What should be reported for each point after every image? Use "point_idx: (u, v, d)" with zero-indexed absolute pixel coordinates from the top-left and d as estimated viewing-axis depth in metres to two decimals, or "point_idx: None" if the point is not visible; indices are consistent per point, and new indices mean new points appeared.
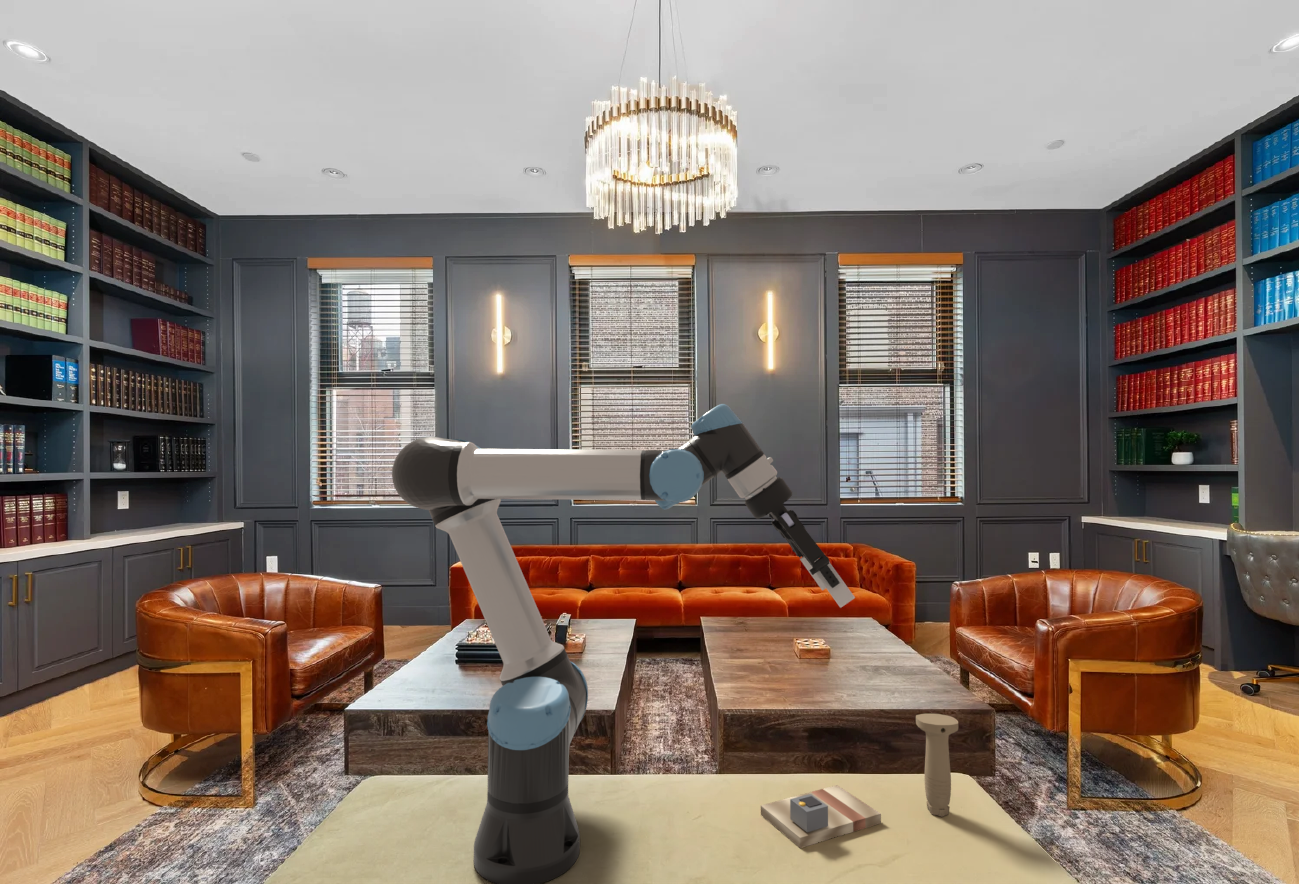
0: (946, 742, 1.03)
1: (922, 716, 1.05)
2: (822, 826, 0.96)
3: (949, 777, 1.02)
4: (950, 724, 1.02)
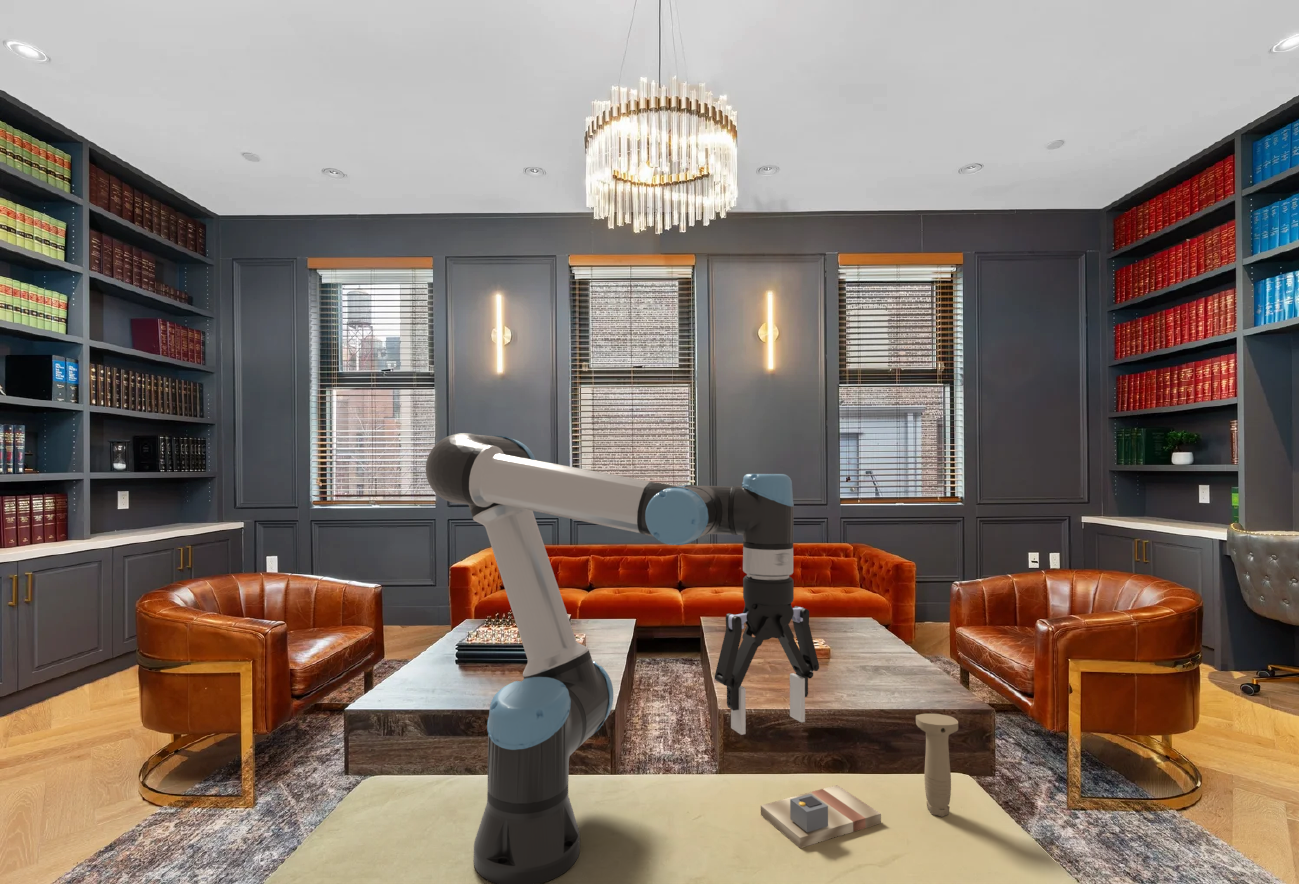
0: (946, 742, 1.03)
1: (922, 716, 1.05)
2: (822, 826, 0.96)
3: (949, 777, 1.02)
4: (950, 724, 1.02)
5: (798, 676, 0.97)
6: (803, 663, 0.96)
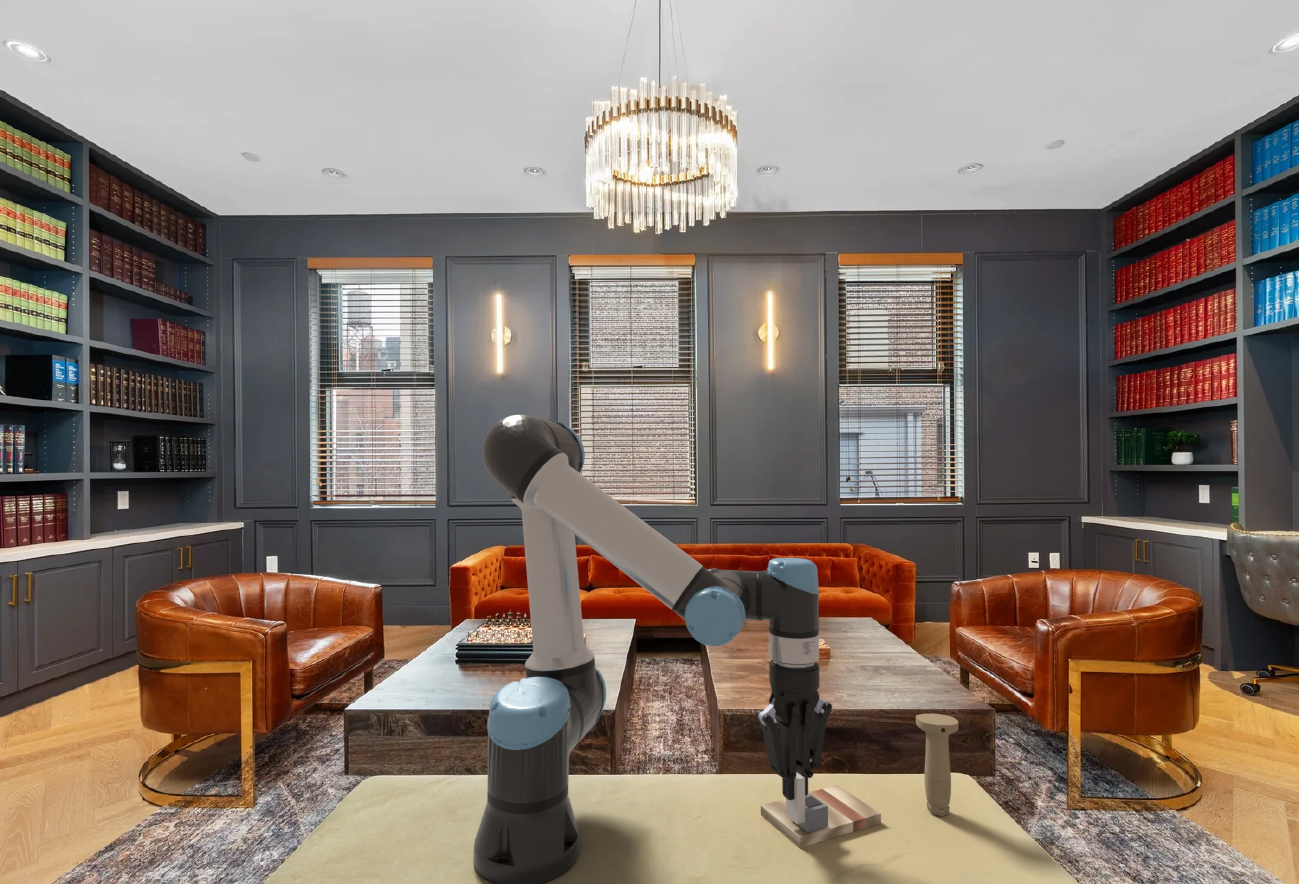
0: (946, 742, 1.03)
1: (922, 716, 1.05)
2: (822, 826, 0.96)
3: (949, 777, 1.02)
4: (950, 724, 1.02)
5: (798, 774, 0.96)
6: (807, 760, 0.96)
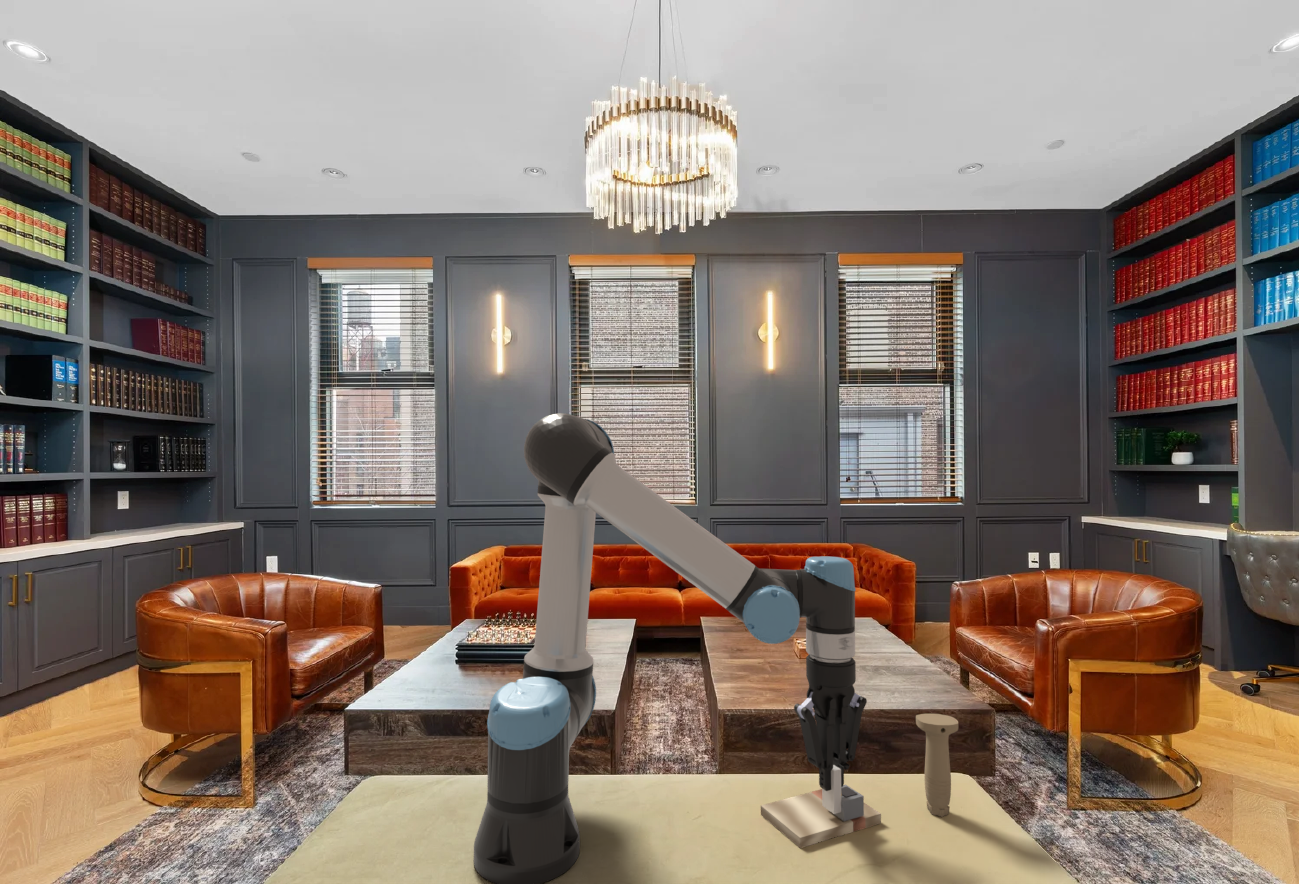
0: (946, 742, 1.03)
1: (922, 716, 1.05)
2: (858, 815, 0.99)
3: (949, 777, 1.02)
4: (950, 724, 1.02)
5: (834, 766, 0.99)
6: (843, 752, 0.99)
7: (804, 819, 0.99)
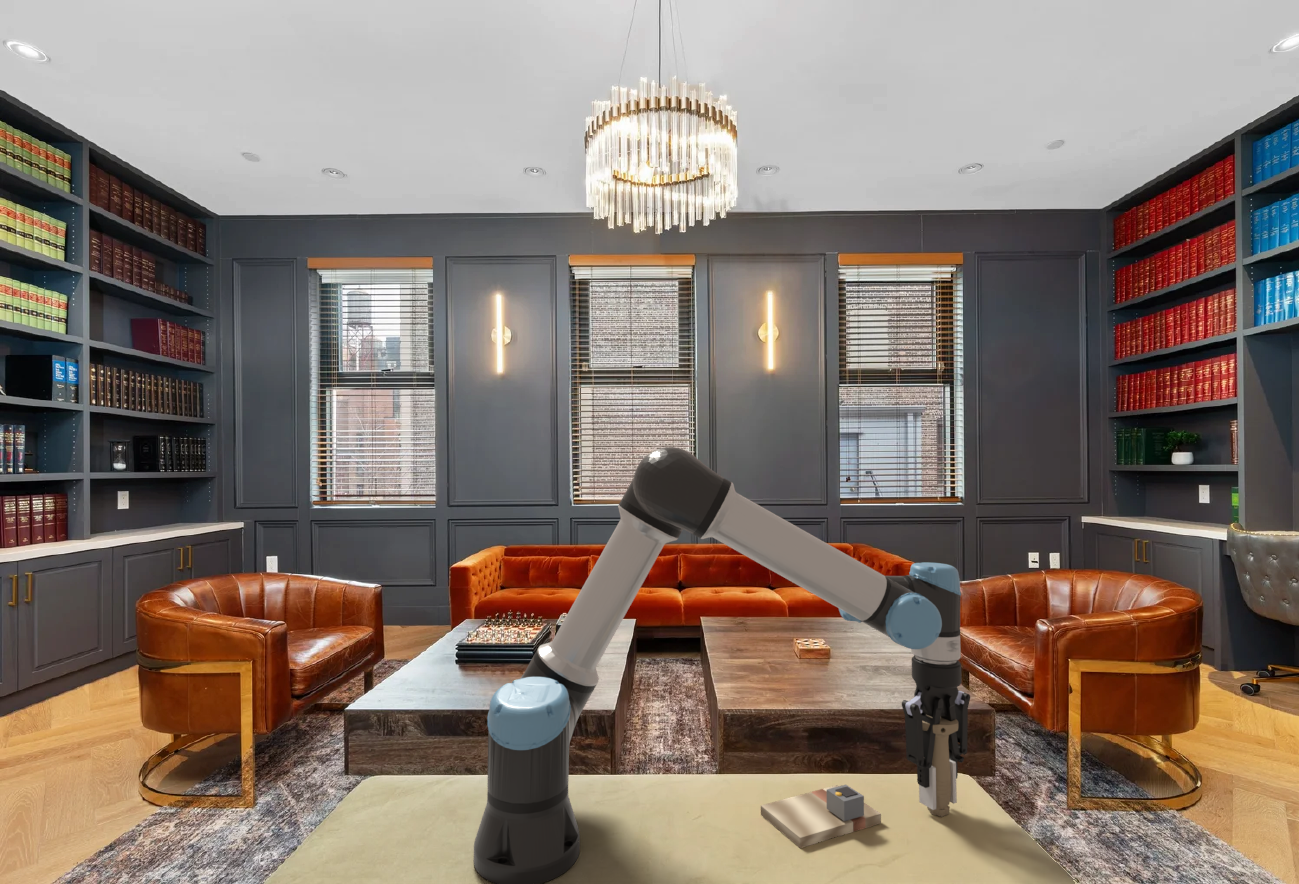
0: (946, 742, 1.03)
1: None
2: (858, 815, 0.99)
3: (949, 777, 1.02)
4: (950, 724, 1.02)
5: None
6: (956, 747, 1.04)
7: (804, 819, 0.99)
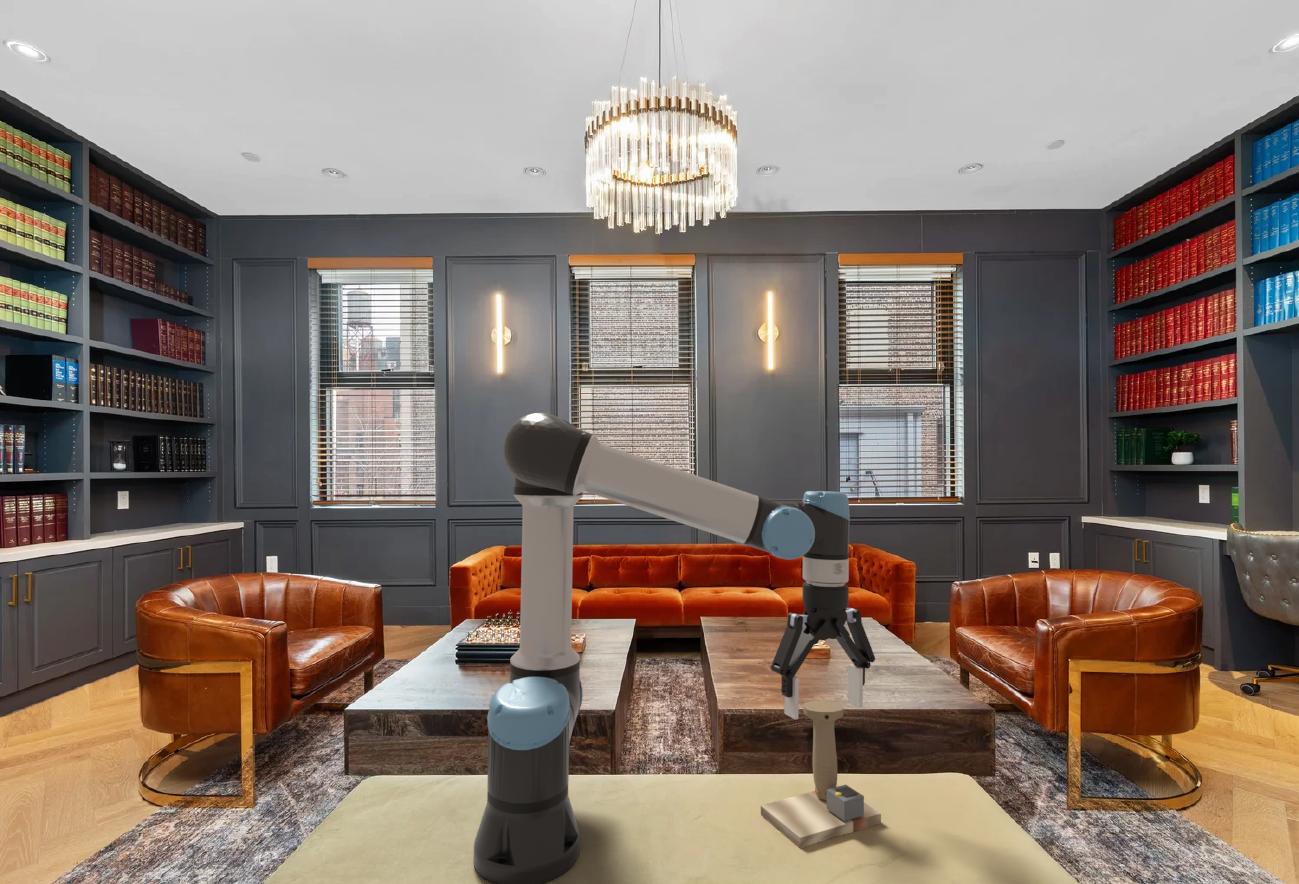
0: (831, 728, 1.04)
1: (810, 703, 1.07)
2: (858, 815, 0.99)
3: (834, 762, 1.04)
4: (834, 711, 1.04)
5: (856, 666, 1.09)
6: (860, 656, 1.08)
7: (804, 819, 0.99)
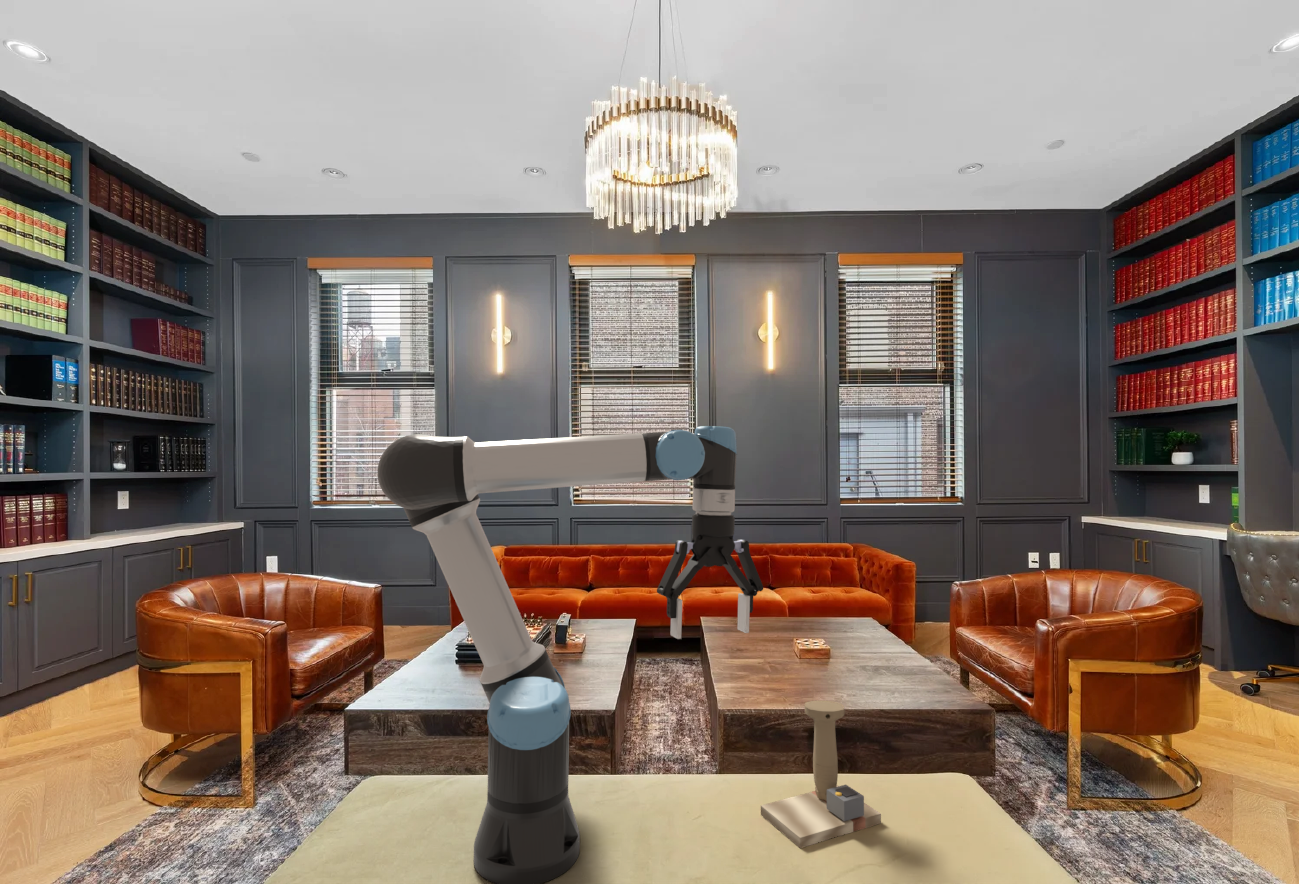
0: (832, 728, 1.04)
1: (811, 703, 1.07)
2: (858, 815, 0.99)
3: (835, 762, 1.04)
4: (835, 710, 1.04)
5: (745, 595, 1.14)
6: (747, 584, 1.14)
7: (804, 819, 0.99)
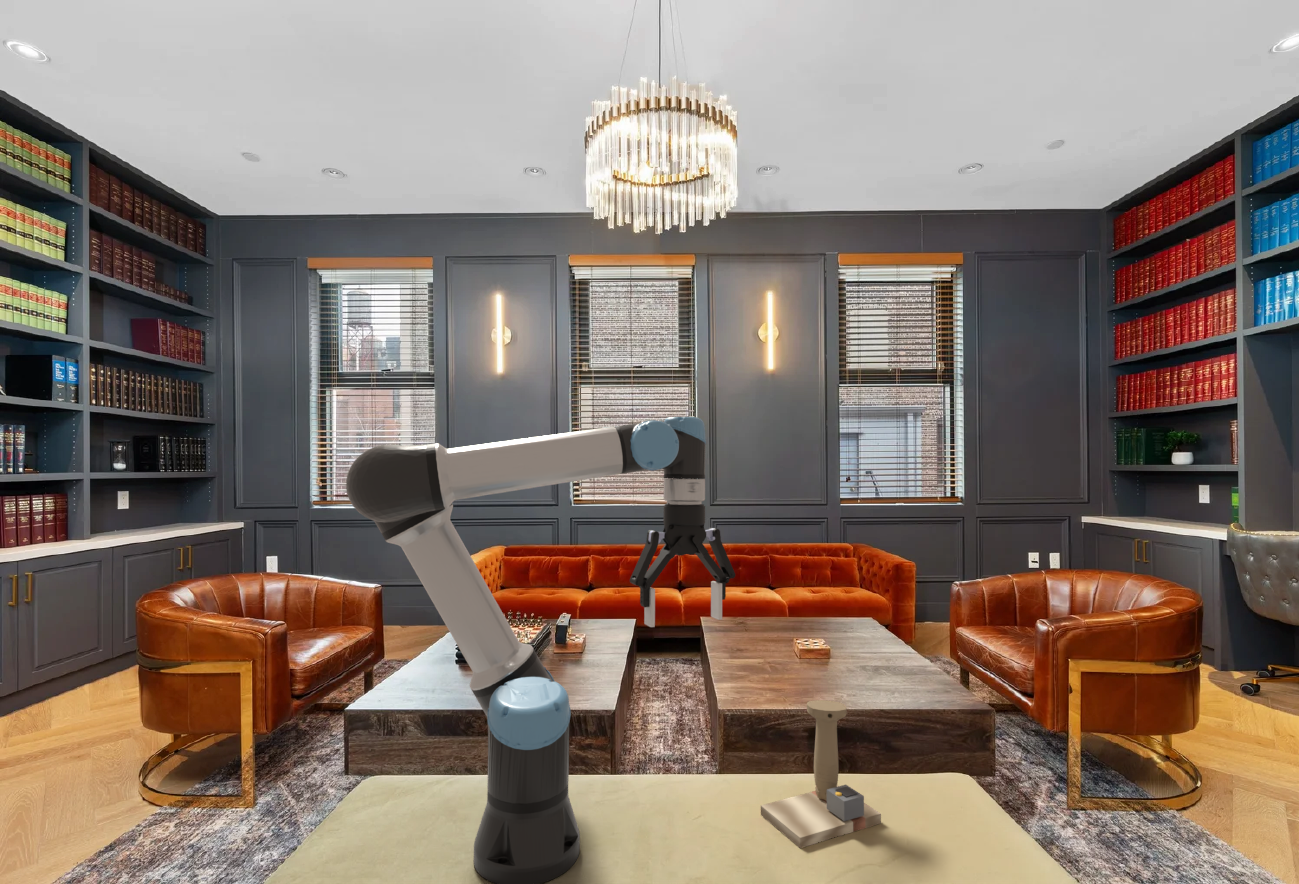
0: (834, 728, 1.04)
1: (813, 702, 1.07)
2: (858, 815, 0.99)
3: (836, 762, 1.04)
4: (837, 710, 1.04)
5: (717, 582, 1.16)
6: (720, 572, 1.15)
7: (804, 819, 0.99)
